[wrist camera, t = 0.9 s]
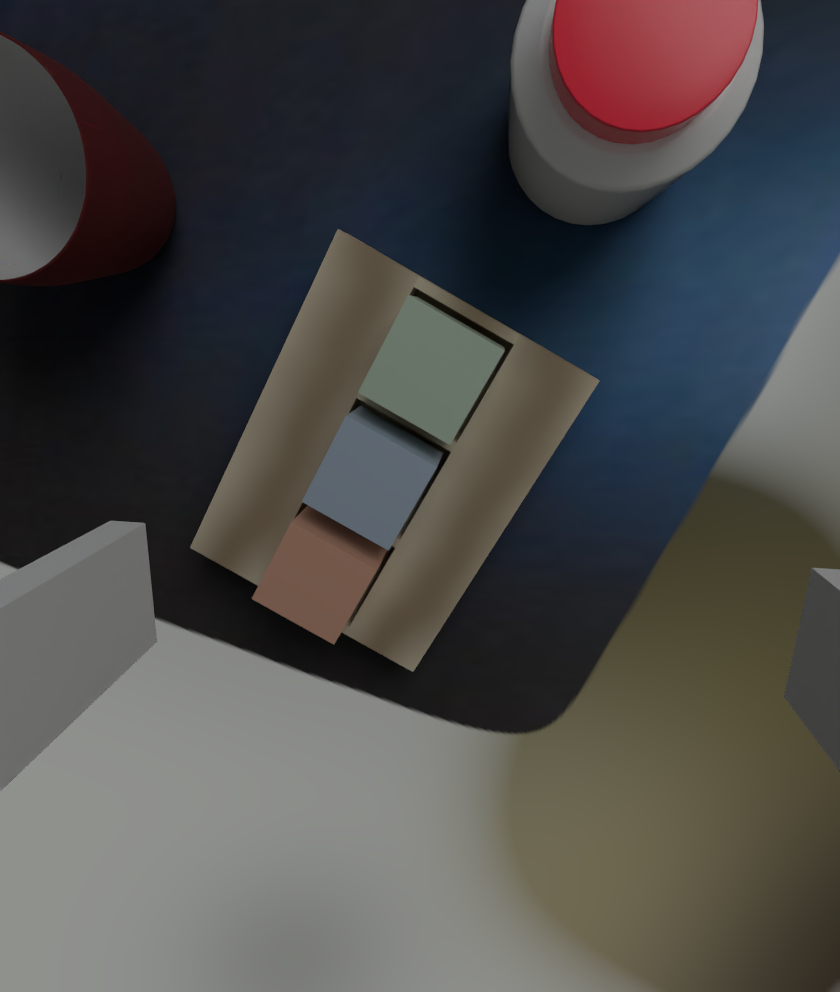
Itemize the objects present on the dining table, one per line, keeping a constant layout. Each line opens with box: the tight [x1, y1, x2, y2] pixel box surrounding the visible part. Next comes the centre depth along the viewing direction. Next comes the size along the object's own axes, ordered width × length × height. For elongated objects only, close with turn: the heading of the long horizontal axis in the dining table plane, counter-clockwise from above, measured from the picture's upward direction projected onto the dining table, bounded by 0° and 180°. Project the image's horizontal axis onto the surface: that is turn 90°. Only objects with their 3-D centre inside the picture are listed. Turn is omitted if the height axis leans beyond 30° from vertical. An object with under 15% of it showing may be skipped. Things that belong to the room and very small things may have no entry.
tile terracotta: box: [252, 506, 387, 644], centre depth 30 cm, size 4×4×3 cm
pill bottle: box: [507, 0, 764, 225], centre depth 23 cm, size 8×8×11 cm
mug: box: [0, 32, 176, 286], centre depth 26 cm, size 10×8×10 cm
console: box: [190, 229, 599, 672], centre depth 31 cm, size 13×17×3 cm
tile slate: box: [302, 406, 443, 551], centre depth 29 cm, size 4×4×3 cm
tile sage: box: [358, 295, 505, 445], centre depth 27 cm, size 4×4×3 cm
